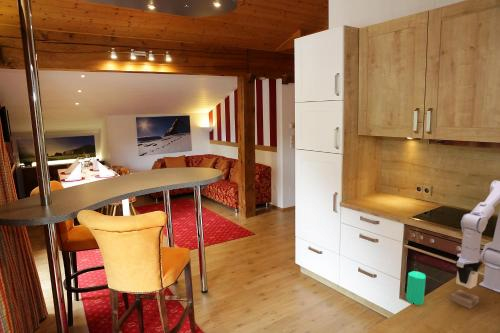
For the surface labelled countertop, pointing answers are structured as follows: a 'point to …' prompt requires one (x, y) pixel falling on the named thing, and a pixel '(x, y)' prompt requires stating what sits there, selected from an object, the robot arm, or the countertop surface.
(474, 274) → the block
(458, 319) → the countertop surface
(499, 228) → the robot arm
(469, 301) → the stand
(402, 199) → the countertop surface
